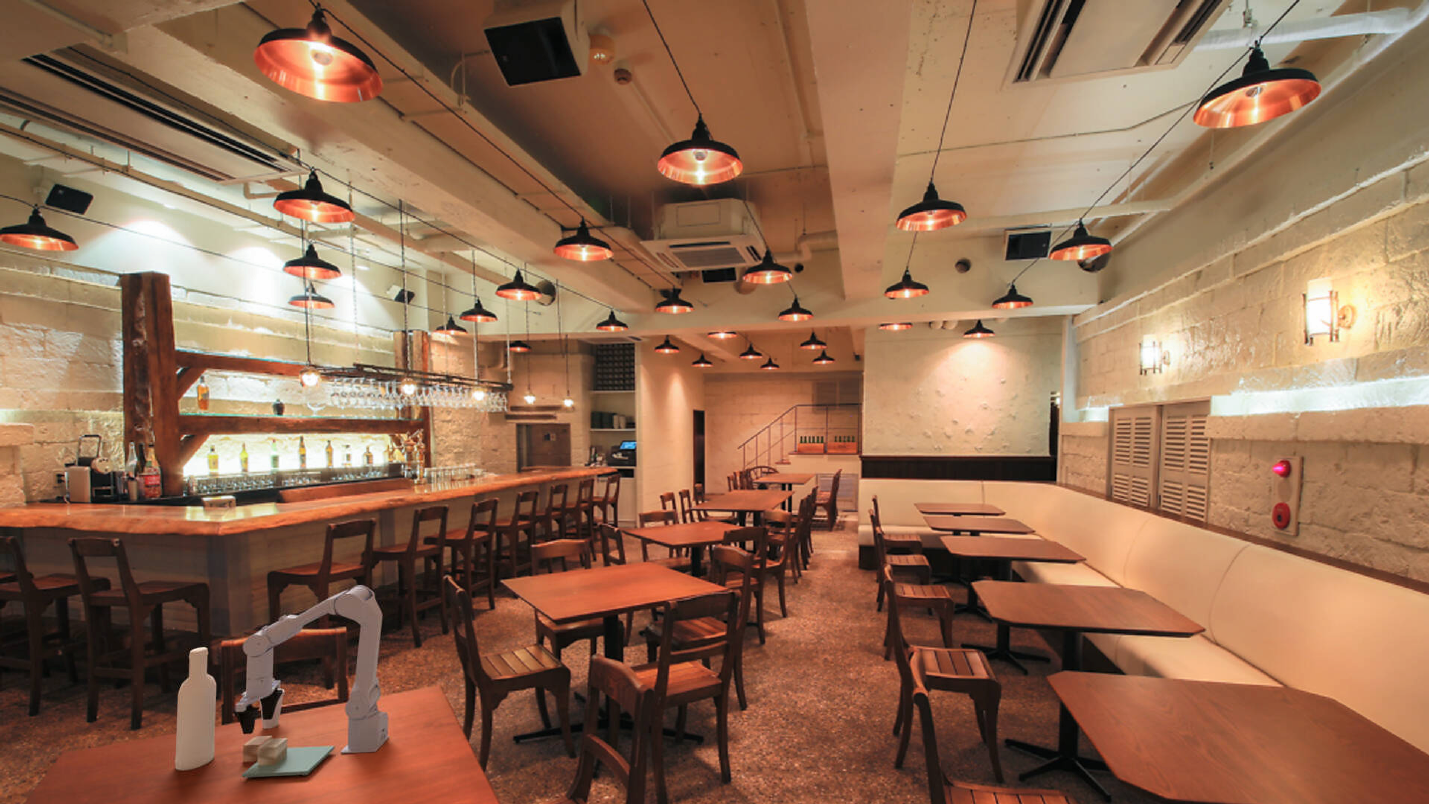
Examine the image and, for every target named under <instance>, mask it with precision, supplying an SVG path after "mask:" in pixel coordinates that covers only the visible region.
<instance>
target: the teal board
mask: <svg viewBox="0 0 1429 804" xmlns="http://www.w3.org/2000/svg"><path fill="white" fill-rule="evenodd" d="M335 747H336V746H335V745H328V746H327V745H325V746H323V745H322V746H304V747H303V746H302V747H287V755H286V756H285V757H284V758H283V759H282V760H281V761H279V762H278V763H277V764H276V765H258V761H256V763H254V764H253V765H252V766H251V767H249V768H248V769H247V770H245V771H244V772H243V773H242V774H241V778H246V779H247V780H251V779H252V778H257V777H277V776H278V777H280V776H299V775H302V778H303V777H304V778H305V777H307V776H308V775H309V774H310V773H311V772H312V771H313V770H314V769H315V768H316V767H317V766H318V765H319V764H320V763H322V761H323V760H324V759H326V758H327V757H328V756H329V755H330V754H331V753H332V752H333V751H334V750H335Z"/></svg>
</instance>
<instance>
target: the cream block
mask: <svg viewBox="0 0 1429 804" xmlns="http://www.w3.org/2000/svg"><path fill="white" fill-rule="evenodd" d="M287 748H288V737H283V738H282V737H280V738H279V737H278V738H272V739H269V740H268V741H266V742H265V743H264V744H262V745H261V746H260V747H258V761H257V762H258V765H276V764H277V763H278V762H279V761H281V760H282V759H283V758H284V757H285V756H286V755H287Z"/></svg>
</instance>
